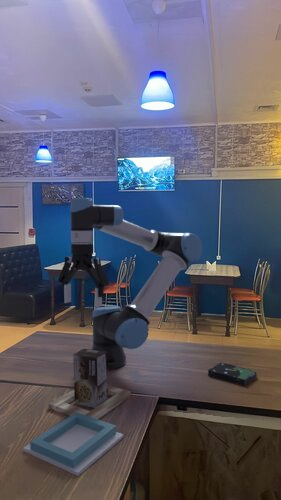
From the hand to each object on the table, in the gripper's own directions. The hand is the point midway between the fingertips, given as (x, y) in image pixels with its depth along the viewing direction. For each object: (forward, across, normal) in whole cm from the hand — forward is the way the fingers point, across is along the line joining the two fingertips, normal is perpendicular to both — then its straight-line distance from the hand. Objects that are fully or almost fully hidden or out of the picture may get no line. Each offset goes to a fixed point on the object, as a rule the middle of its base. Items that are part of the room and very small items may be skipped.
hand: (82, 304), depth 129 cm
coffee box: (+29, +10, -9) cm, 32 cm away
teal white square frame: (+29, +20, -29) cm, 46 cm away
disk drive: (+29, +43, +34) cm, 62 cm away
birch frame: (+29, +10, -9) cm, 32 cm away
